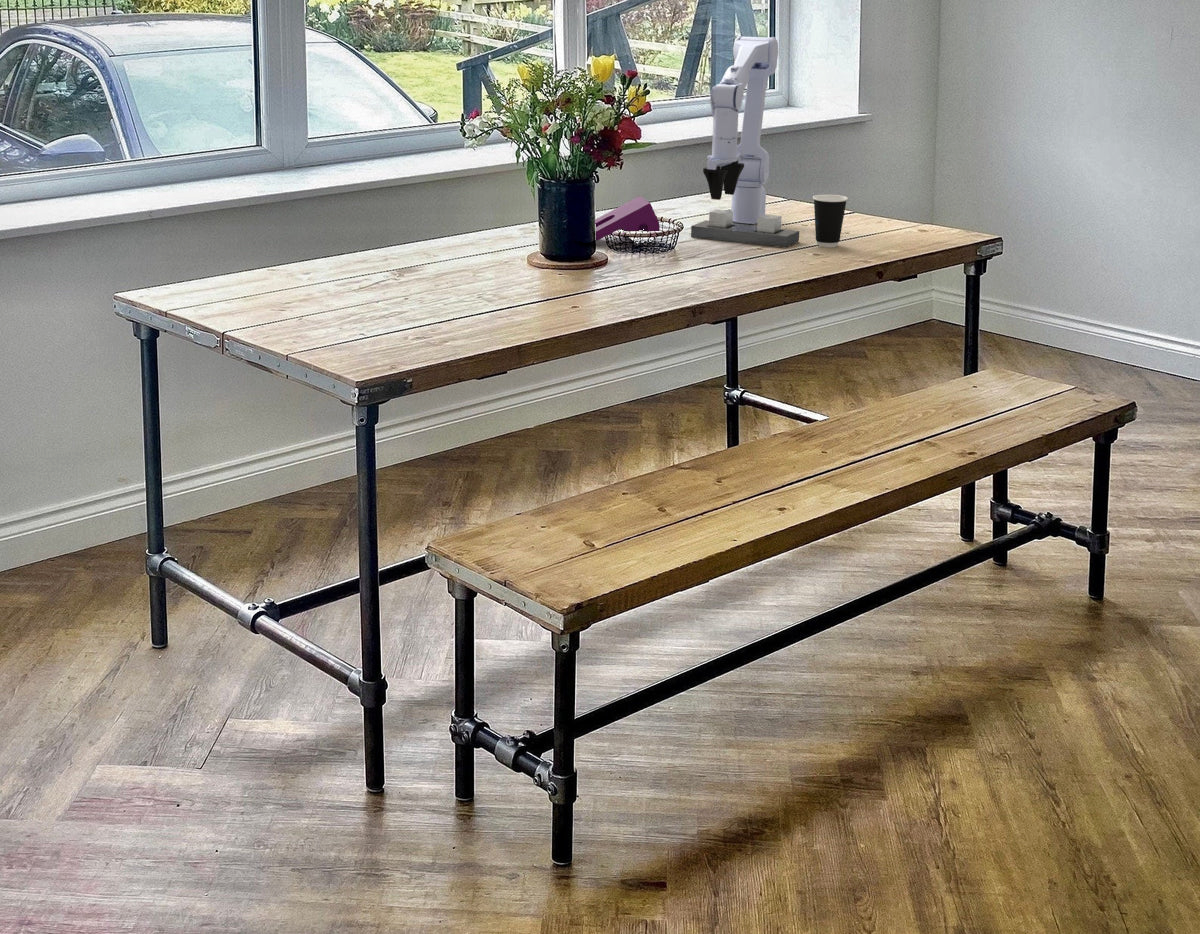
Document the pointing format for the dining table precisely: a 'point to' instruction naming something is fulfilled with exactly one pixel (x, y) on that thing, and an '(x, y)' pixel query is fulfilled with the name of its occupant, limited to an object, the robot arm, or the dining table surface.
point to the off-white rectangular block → (769, 224)
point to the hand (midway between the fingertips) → (722, 196)
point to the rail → (745, 234)
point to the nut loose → (721, 219)
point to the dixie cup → (829, 218)
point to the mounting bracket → (628, 218)
